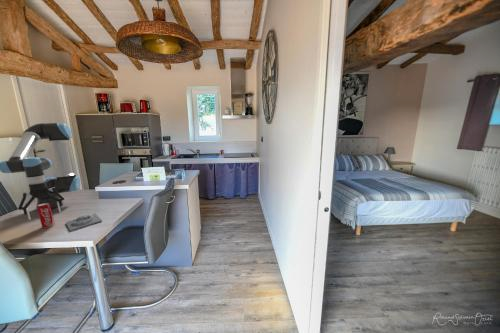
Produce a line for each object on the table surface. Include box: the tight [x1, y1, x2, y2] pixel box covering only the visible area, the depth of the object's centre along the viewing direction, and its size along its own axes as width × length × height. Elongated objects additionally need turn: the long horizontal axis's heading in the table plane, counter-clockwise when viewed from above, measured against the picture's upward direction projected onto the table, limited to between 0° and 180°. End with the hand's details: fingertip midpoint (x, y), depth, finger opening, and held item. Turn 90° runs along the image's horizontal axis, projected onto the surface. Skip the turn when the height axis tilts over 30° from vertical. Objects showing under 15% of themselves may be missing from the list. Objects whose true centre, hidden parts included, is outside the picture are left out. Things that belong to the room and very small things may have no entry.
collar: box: [72, 214, 94, 225], centre depth 133 cm, size 10×10×2 cm
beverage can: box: [36, 203, 55, 229], centre depth 128 cm, size 6×6×15 cm
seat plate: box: [65, 213, 103, 232], centre depth 133 cm, size 16×16×1 cm
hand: (45, 215), depth 128 cm, fingers open, 13 cm apart
